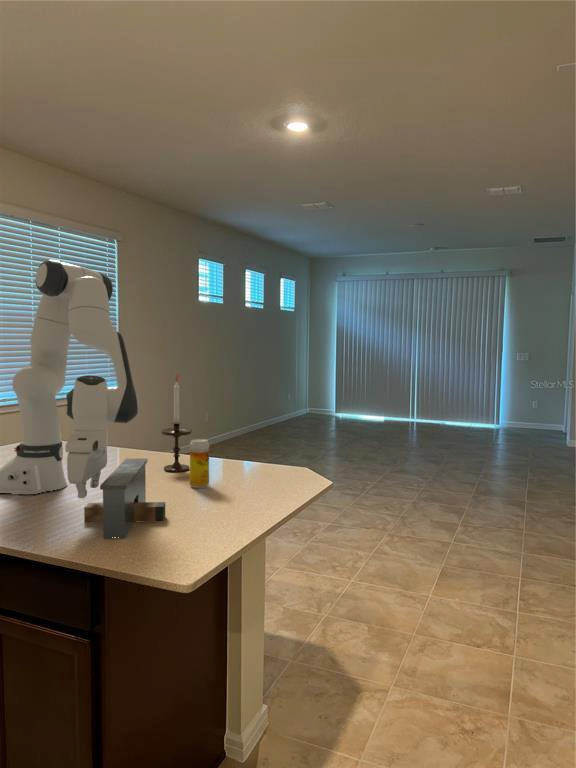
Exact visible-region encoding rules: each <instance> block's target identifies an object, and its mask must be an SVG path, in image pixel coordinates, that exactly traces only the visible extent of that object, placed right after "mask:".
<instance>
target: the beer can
mask: <svg viewBox="0 0 576 768" xmlns="http://www.w3.org/2000/svg"><path fill="white" fill-rule="evenodd" d="M190 441H191V442H190V443H189V485H190V486H191V488H193V489H205V488H208V486H209V484H210V442H209V439H206V438H196V439H195V438H194V439H192V440H190Z"/></svg>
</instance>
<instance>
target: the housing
mask: <svg viewBox="0 0 576 768" xmlns="http://www.w3.org/2000/svg"><path fill="white" fill-rule="evenodd" d="M147 463H148V458H125V459H124V460H123V461H122V462H121V463H120V465H118V466H117V467H116V469H114V470H113V472H111V474H110V475H108V477H106V479H104V481H103V482H102V483H101V484H100V486H99V489H100V490H102V503H103V522H102V524H103V525H102V527H103V533H102V535H103V538H112V537H113V538H114V537H116V538H118V537H119V538H123V539H126V538H127V536H128V535H129V532H130V531H131V529H132V527H133V526H134V524H133V523H135V522H134V502H147V499H146V497H147V496H146V492H147V490H146V485H147V484H146V465H147ZM132 525H133V526H132ZM130 528H131V529H130ZM129 530H130V531H129ZM126 535H127V536H126ZM125 537H126V538H125ZM103 538H102V539H103Z"/></svg>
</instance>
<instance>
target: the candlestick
mask: <svg viewBox="0 0 576 768" xmlns="http://www.w3.org/2000/svg"><path fill="white" fill-rule="evenodd" d="M178 377H179V374H178V373H177V374H176V377H175V384H174V386H173V422H171V423H170V424H172V425H173V427H170V428H169V427H168V428H163V429H161V430H160V434H161V435H163V436H170V437H172V438H174V447H173V448H172V451H173V452H174V453H173V455H172V456H173V457H174V462H173V464H167V465H165V466H164V467H163V471H164V472H166V473H174V474H175V473H184V472H187V471H190V465H187V464H182V463H180V462H179V460H180V459H179V457H180V456H181V455H180V452H181V448H180V447H179V438H181V436H189V435H192V434H193V430H192V429H191V428H188V427H186V428H185V427H180V425H181V424H182V422H180V385H179V384H178V380H179V379H178Z"/></svg>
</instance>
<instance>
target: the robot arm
mask: <svg viewBox="0 0 576 768" xmlns="http://www.w3.org/2000/svg"><path fill="white" fill-rule="evenodd" d="M35 285H36V288H37V290H38V291H39V292H40V293H41V294H42V295H41V297H40V300H39V303H38V306H37V309H36V312H35V317H34V321H33V326H32V329H31V334H30V339H29V344H30V362H29V364H28V365H25V366H24V367H22V368H21V369H19V370H18V371H17V372H16V374H14V376H13V379H12V385H11V386H12V390H13V391H14V393H15V394H16V398H17V399H16V400H17V404H18V408H19V412H20V419H21V438H22V441H21V442H20V443H19V444H17V445H16V447H14V448H13V449H14V452H16V456H14V457H12V458H11V459H10V460H9V461H7V462H6V463H5V464H4V465H3V466H1V467H0V493H14V494H13V495H18V494H36V495H38V494H37V493H40V494H42V493H41V492H44V493H47V492H46V491H50V492H54V491H53V490H55V491H58V490H61V489H64V488H66V487H67V486H68V483H69V484H71V485H75V487H76V490H77V497H78V499H85V498H86V497H87V496H88V490H87V489H86V485H87V482H88V481H89V480H90V479H91V480H90V481H89V482H90V483H89V486H90V488H91V489H96V488H98V487H100V486H99V484H100V483H99V481H100V477H101V472H102V470H103V469H104V468H106V467H107V464H108V444H109V443H108V441H109V439H108V438H109V425H108V423H121V424H127V423H129V422H130V421H132V420H133V419H135V417H137V415H138V412H139V406H140V405H139V397H138V395H137V393H136V389H135V385H134V381H133V377H132V371H131V367H130V366H131V365H130V362H129V357H128V353H127V349H126V345H125V340H124V338H123V335H122V334H121V332H119V331H117V330H116V329H115V328H114V326H113V324H112V322H111V318H110V317H111V314H110V311H111V309H110V300H111V299H112V295H113V291H114V287H113V283H112V279H111V278H110V277H108V276H107V275H105V274H103V273H102V272H97V271H95V270H92V269H91V268H87V267H84V266H81V265H75V264H71V263H67V262H62V261H60V260H58V259H57V260H56V259H46V260H44V261H43V262H42V263H40V265H39V266H38V268H37V271H36V274H35ZM71 337H73V338H74V339H75V340H76V341H77V342H79V344H82V345H83V346H86V347H88V348H90V349H93V350H97V351H99V352H100V353H103V354H105V355H106V356H107V357H109V358H110V360H111V361H112V364H113V369H114V374H115V380H116V383H117V385H116V386H108V384H107V383H108V382H107V379H106V378H104V377H102V376H99V375H83V376H78V377H77V378H76V379H75V381H74V385H73V388H72V389H71V390H70V391H69V392H68V393H67V394H66V396H65V397H66V413H65V414H66V415H67V416H68V417H69V418H70V419H72V421H73V422H72V424H71V434H70V436H69V439H68V441H66V443H65V449H64V447H63V442H62V433H61V430H62V429H61V424H62V423H61V416H60V413H59V410H58V405H57V400H56V399H57V398H56V395H58V393H60V392H61V390H63V388H64V386H65V384H66V373H67V364H68V363H67V361H68V352H69V351H68V350H69V346H70V342H71ZM64 450H65V452H66V453H67V456H66V471H67V479H66V476H65V471H64V467H63V458H64ZM67 480H68V481H67ZM57 489H58V490H57Z"/></svg>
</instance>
